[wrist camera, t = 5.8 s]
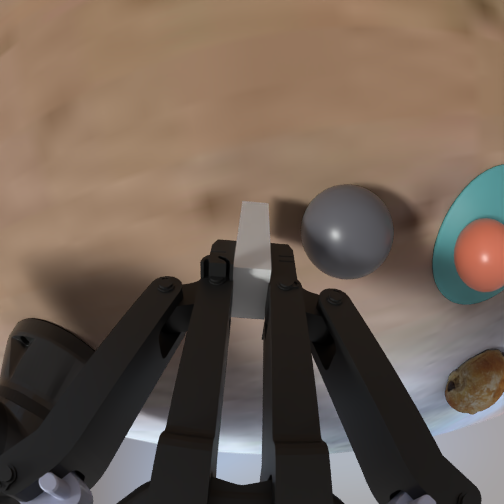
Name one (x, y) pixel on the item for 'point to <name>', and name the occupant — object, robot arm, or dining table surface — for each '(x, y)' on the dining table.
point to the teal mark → (458, 217)
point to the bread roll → (476, 383)
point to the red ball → (481, 255)
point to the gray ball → (347, 231)
